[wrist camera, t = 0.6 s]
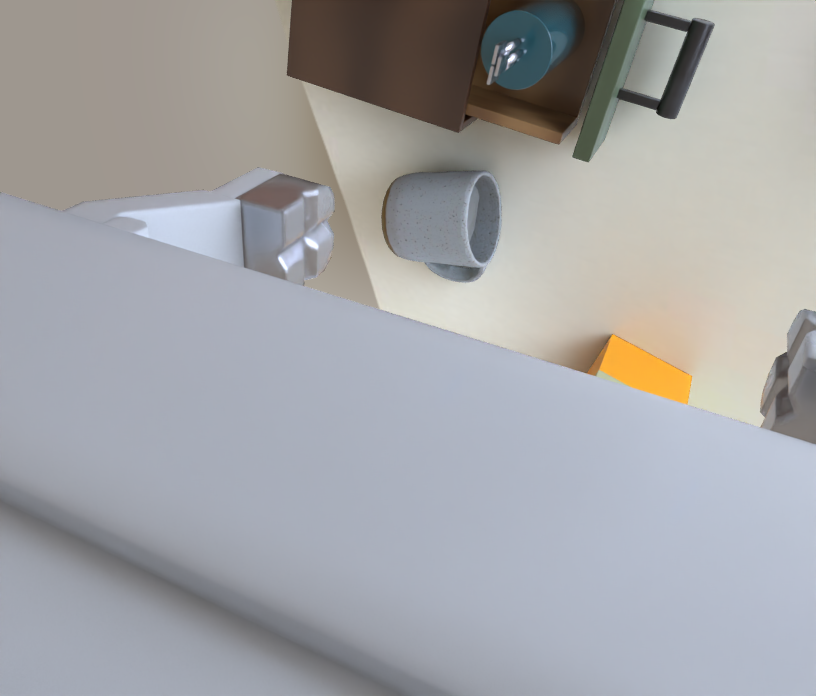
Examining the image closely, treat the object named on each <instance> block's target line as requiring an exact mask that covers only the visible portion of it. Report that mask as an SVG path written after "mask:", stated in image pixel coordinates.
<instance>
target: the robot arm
mask: <svg viewBox="0 0 816 696" xmlns="http://www.w3.org/2000/svg"><path fill="white" fill-rule="evenodd" d="M333 213H334V193H333V192H332V189H331V188H330V187H328V186H325V185H321V184H318V183H314V182H310V181H307V180H303V179H300V178H296V177H292V176H289V175H285V174H283V173H281V172H277V171H272V170H268V169H264V168H259V167H257V168H256V169H254V170H252V171H250V172H248V173H246V174H244V175H242V176H240V177H238V178H236V179H234V180H232V181H230V182H228V183H226V184H224V185H222V186H220V187H218V188H216V189H214V190H212V191H210V192H209V191H206V190H197V191H187V192H178V193H177V192H176V193H166V194H156V195H146V196H136V197H125V198H115V199H105V200H95V201H85V202H81V203H79V204H77V205H74V206H72V207H70V208H67V209H65V210H63V211H60V210H57V209H54V208H50V207H47V206H44V205H41V204H37V203H34V202H31V201H28V200H25V199H21V198H18V197H15V196H12V195H8V194H5V193H2V192H0V696H816V312H815V311H811V310H807V309H804V310H801V311H799V313H798V315H797V316H796V318H795V319H794V321H793V323H792V325H791V327H790V329H789V331H788V333H787V352H786V353H784V354H782V355H780V356H778V357H776V359H775V361H774V363H773V366H772V368H771V370H770V373H769V375H768V378H767V381H766V383H765V386H764V389H763V393H762V399H761V407H760V412H761V413H762V415H763V416H764V417H765V419H764V421H763V423H762V425H761V427H758V426H754V425H751V424H748V423H745V422H741V421H738V420H735V419H732V418H729V417H725V416H722V415H719V414H716V413H712V412H709V411H706V410H703V409H699V408H696V407H693V406H690V405H687V404H683V403H680V402H677V401H674V400H670V399H667V398H664V397H661V396H657V395H654V394H651V393H648V392H645V391H641V390H638V389H635V388H632V387H628V386H625V385H622V384H619V383H616V382H612V381H609V380H606V379H603V378H599V377H596V376H593V375H590V374H586V373H583V372H580V371H577V370H574V369H570V368H567V367H564V366H561V365H557V364H554V363H551V362H548V361H544V360H541V359H538V358H535V357H532V356H528V355H525V354H522V353H519V352H515V351H512V350H509V349H506V348H502V347H499V346H496V345H493V344H490V343H486V342H483V341H480V340H477V339H473V338H470V337H467V336H464V335H461V334H457V333H454V332H451V331H448V330H444V329H441V328H438V327H435V326H431V325H428V324H425V323H422V322H419V321H415V320H412V319H409V318H406V317H402V316H399V315H396V314H393V313H389V312H386V311H383V310H380V309H376V308H373V307H370V306H367V305H364V304H360V303H357V302H354V301H351V300H347V299H344V298H341V297H338V296H334V295H331V294H328V293H324V292H322V291H318V290H315V289H312V288H308V287H305V286H304V280H307V279H311V278H316V277H318V276H319V275H320V274H321V273H322V272H323V271H324V270H325V268H326V266H327V264H328V263H329V261H330V259H331V255H332V250H333V246H334V233H333V231H332V229H331V227H330V225H329V223H328V222H327V220H328V219H329V218H330V217H331V215H332V214H333Z"/></svg>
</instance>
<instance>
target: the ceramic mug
mask: <svg viewBox="0 0 816 696" xmlns="http://www.w3.org/2000/svg"><path fill="white" fill-rule="evenodd" d="M381 218H382V230H383V234H384V238H385V241H386V243H387V245H388V247H389V248H390V250H391V251H392V252H393V253H394V254H395V255H397V256H398V257H401V258H404V259H407V260H412V261H418V262H424V263H425V264H426V265H427V266H428V268H429V269H430V270H431V271H432V272H434V273H435V274H437V275H439V276H441V277H443V278H445V279H448V280H451V281H455V282H465V283H466V282H473V281H475V280H477V279H478V278H479V277H481V275H482V274H483V273H484V270H485V268H486V266H487V264H488V263H489V262H490V261H491V259H492V257H493V256H494V253H495V251H496V248H497V245H498V241H499V236H500V230H501V198H500V192H499V188H498V184H497V182H496V180H495V178H494V176H493V175H492V174H491V173H489V172H487V171H453V172H419V173H412V174H407V175H403V176H401V177H398V178H397V179H395V180H394V181H393V182H392V183H391V185H390V187H389V188H388V190H387V192H386V195H385V197H384V201H383V206H382V215H381ZM448 264H449V265H448ZM453 265H458V266H453ZM459 266H467V267H474V268H464V267H459Z"/></svg>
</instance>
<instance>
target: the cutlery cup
mask: <svg viewBox="0 0 816 696" xmlns="http://www.w3.org/2000/svg"><path fill="white" fill-rule="evenodd" d="M584 32H585V20H584V16H583V13H582V11H581V9H580V7H579V6H578V4H577V3H576V2H575V1H574V0H533V1H531V2H529V3H526V4H524V5H522V6H520V7H517V8H515V9H513V10H510V11H508V12H506V13H504V14H502V15H500V16H498V17H497V18H496V19H494V20H493V21H492V22H491V24H490V25H489V26H488V28H487V30H486V31H485V34H484V36H483V39H482V44H481V57H482V62H483V65H484V68H485V70H486V72H487V73H488V80H487V84H488V85H490V84H492V83H493V82H496V83H497V84H498V85H500V86H502V87H504V88H507V89H512V90H521V89H525V88H528V87H530V86H532V85H534V84H536V83H537V82H538V81H540V80H541V79H542V78H543V77H545V76H546V75H547V74H549V73H550V72H551V71H552V70H554V69H555V68H556V67H558V66H559V65H560V64H561V63H563V62H564V61H565V60H566V59H568V58H569V57H570V56H571V55H573V54H574V53H575V52H576V50H577V49H578V48H579V46H580V44H581V42H582V40H583V37H584Z"/></svg>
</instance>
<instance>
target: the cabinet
mask: <svg viewBox="0 0 816 696" xmlns="http://www.w3.org/2000/svg"><path fill="white" fill-rule="evenodd" d="M490 3H491V0H292V8H291V22H290V37H289V52H288V67H287V75H288V76H290V77H293V78H296V79H299V80H302V81H305V82H308V83H311V84H314V85H317V86H320V87H323V88H326V89H329V90H332V91H335V92H338V93H341V94H344V95H347V96H350V97H353V98H356V99H359V100H362V101H365V102H368V103H371V104H374V105H377V106H380V107H383V108H386V109H389V110H392V111H395V112H398V113H401V114H404V115H407V116H410V117H413V118H416V119H419V120H422V121H425V122H428V123H431V124H434V125H437V126H440V127H443V128H446V129H449V130H452V131H455V132H458V133H459V132H460V131H461V130H463V129H464V128H466V127H467V126H468V125H470V124H471V123H472V122H474V121H475V120H476V119H478V118H476V117H472V116H469V115H466V114H465V113H466V109H467V104H468V100H469V96H470V91H471V87H472V82H473V78H474V73H475V69H476V65H477V60H478V56H479V51H480V47H481V43H482V38H483V34H484V29H485V25H486V21H487V16H488V12H489V7H490Z"/></svg>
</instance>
